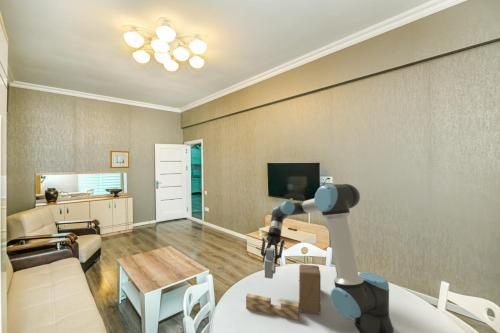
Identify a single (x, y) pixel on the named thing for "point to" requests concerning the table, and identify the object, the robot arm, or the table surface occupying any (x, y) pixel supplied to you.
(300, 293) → the wooden block
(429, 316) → the table surface
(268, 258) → the grey stepped block
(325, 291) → the table surface
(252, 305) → the oak slotted plate
